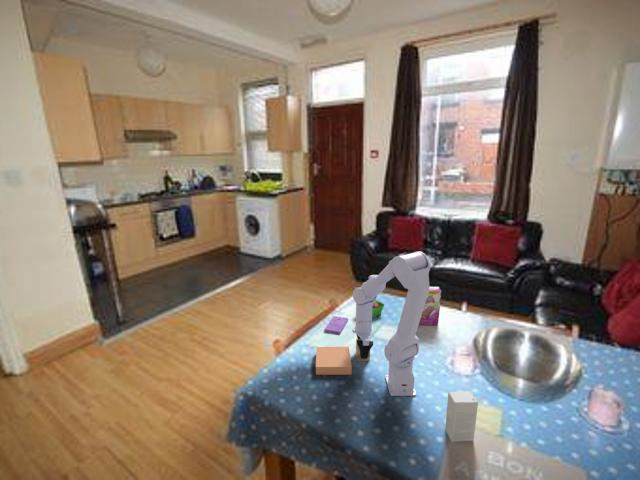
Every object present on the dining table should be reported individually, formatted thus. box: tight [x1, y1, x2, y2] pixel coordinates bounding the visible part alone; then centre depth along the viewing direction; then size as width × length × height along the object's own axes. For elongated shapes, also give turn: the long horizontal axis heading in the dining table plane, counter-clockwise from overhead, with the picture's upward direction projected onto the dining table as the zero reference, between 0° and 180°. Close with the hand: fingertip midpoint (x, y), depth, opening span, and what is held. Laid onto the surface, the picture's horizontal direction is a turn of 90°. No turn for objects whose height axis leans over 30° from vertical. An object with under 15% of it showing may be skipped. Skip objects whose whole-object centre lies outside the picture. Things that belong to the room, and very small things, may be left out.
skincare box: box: [444, 390, 479, 443], centre depth 86 cm, size 6×4×12 cm
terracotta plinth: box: [315, 346, 353, 376], centre depth 117 cm, size 12×12×3 cm
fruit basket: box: [372, 300, 385, 319], centre depth 152 cm, size 11×9×11 cm
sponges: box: [324, 315, 349, 335], centre depth 144 cm, size 7×13×2 cm, turn 160°
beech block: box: [355, 338, 371, 362], centre depth 121 cm, size 4×4×6 cm
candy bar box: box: [418, 286, 442, 327], centre depth 144 cm, size 11×5×16 cm, turn 84°
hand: (362, 352), depth 121 cm, fingers open, 7 cm apart
